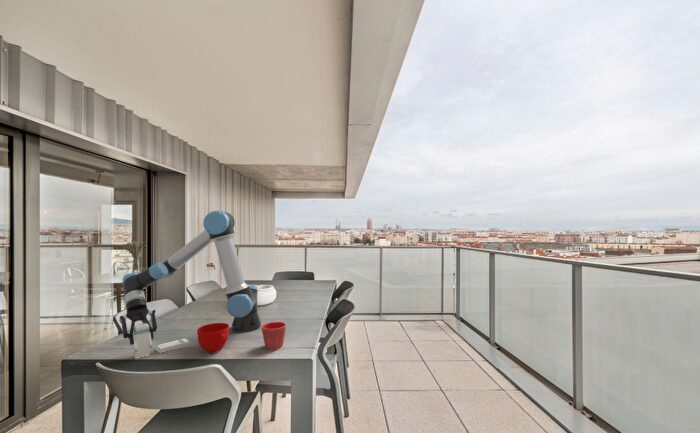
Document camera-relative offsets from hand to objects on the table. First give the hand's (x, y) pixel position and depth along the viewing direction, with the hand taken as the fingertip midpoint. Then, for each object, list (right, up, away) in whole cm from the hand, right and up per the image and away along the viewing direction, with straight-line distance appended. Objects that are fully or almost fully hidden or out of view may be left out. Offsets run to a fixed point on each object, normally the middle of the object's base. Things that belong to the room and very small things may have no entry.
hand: (143, 348), depth 125 cm
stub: (-3, -4, +2) cm, 6 cm away
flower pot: (+52, -4, +11) cm, 54 cm away
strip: (+6, -5, +11) cm, 13 cm away
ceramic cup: (+27, -4, +7) cm, 29 cm away
